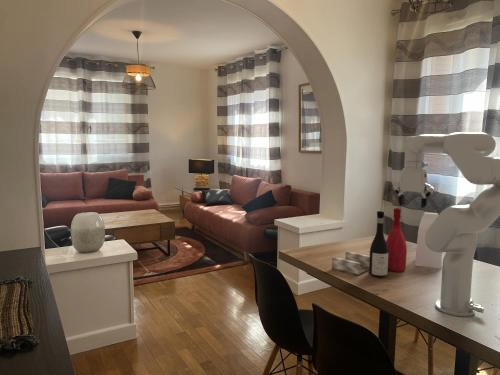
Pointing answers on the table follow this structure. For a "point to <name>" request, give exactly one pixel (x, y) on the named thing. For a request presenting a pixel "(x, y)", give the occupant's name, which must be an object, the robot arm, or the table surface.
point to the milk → (422, 251)
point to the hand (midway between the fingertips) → (412, 206)
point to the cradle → (351, 264)
